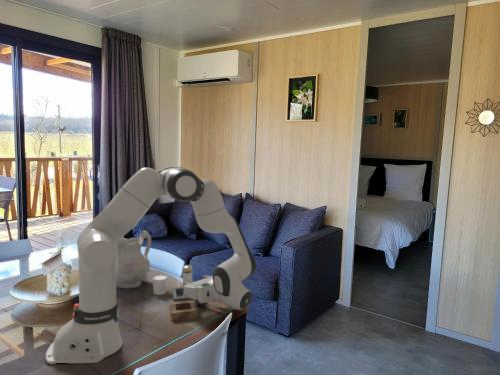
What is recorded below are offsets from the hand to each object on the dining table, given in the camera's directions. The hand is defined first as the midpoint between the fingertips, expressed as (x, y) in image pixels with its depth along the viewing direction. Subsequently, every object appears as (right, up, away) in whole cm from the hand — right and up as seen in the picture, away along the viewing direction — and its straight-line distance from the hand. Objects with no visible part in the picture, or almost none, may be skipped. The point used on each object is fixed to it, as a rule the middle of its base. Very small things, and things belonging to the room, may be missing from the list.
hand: (194, 280), depth 156 cm
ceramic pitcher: (-34, -7, +22) cm, 41 cm away
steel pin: (-4, -9, +4) cm, 10 cm away
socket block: (-3, -11, -9) cm, 15 cm away
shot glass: (-17, -9, +12) cm, 23 cm away
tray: (-4, -9, +4) cm, 11 cm away
